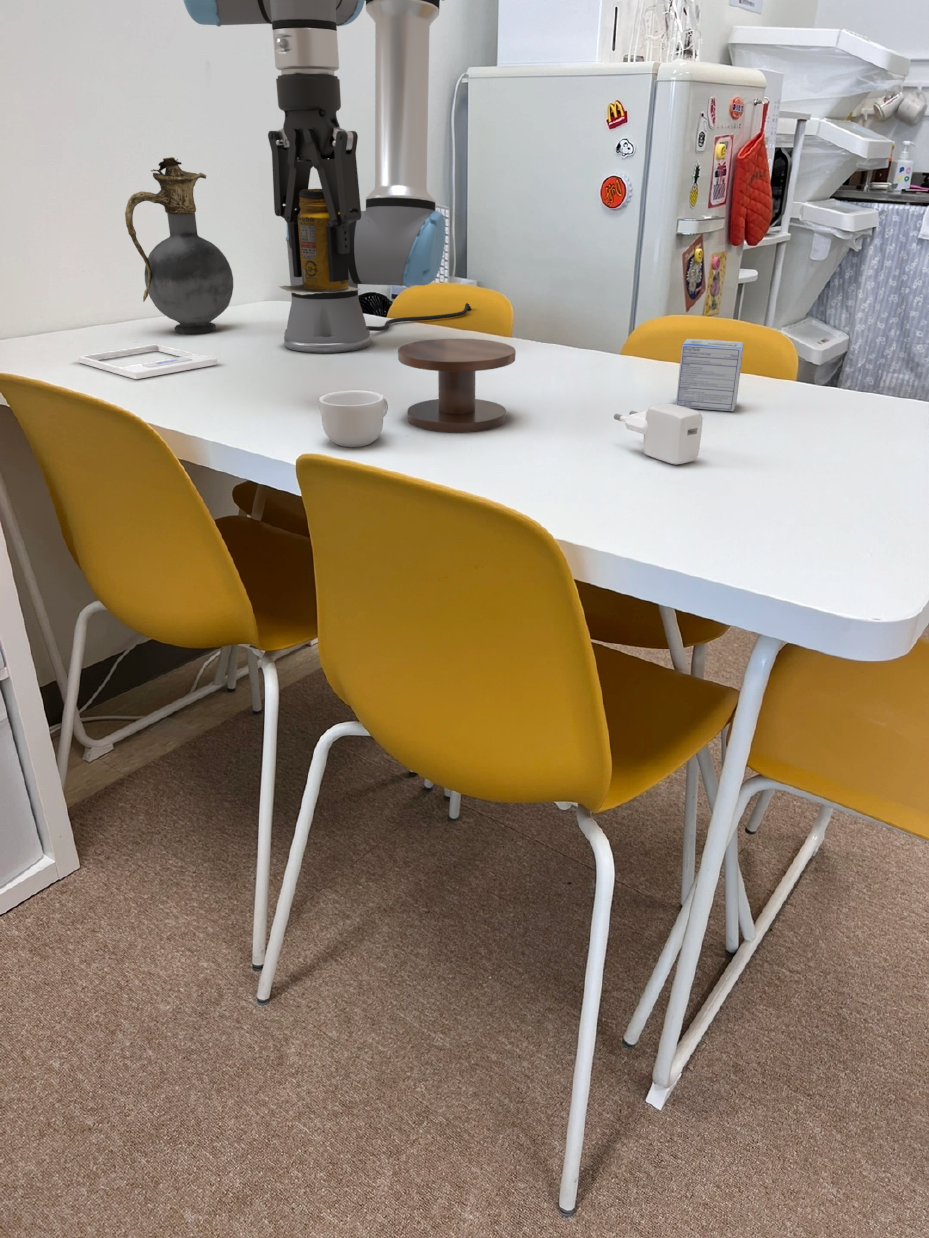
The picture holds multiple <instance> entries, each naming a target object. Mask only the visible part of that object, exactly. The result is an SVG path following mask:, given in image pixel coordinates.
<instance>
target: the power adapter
mask: <svg viewBox="0 0 929 1238" xmlns="http://www.w3.org/2000/svg"><path fill="white" fill-rule="evenodd" d="M613 419H614V420H616V421H619V422H623V423H624V426H625V428H626V429H627V430H630V431H632V432H636V433H638V434H642V435H643V442H642V443H643V444H642V445H643V446H642V447H643V448H642V450H643V453H644V454H645V455H646V456H648V457H651V458H653V459H656V460H659V461H662V462H665V463H667V464H671V465H682V464H686V463H690V462H694V461H696V460H697V458H698V456H699V453H700V447H701V439H702V431H703V419H704V418H703V415H702V413H701V412H700V411H698V410H696V409H694V408H686V407H683V406H679V405H676V403H663V404H657V405H654V406H650V407H648V408H647V410H646V411H640V412H638V411H636V410H630V411H629V413H628V416H625V415H623V414H619V413H615V414H614V415H613Z"/></svg>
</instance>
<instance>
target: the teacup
mask: <svg viewBox="0 0 929 1238" xmlns="http://www.w3.org/2000/svg"><path fill="white" fill-rule="evenodd" d="M318 406H319V411H320V417H321V418H320V419H321V425H322V428H323V431H324V433H325V435H326V436H327V438H328V439H329V440H330V441H331V442H333V443H334V444H336V445H337V446H341V447H345V448H361V447H366V446H369V445H371V444H372V443H374V441H376V440H377V439H378V438H379V436H380V435H381V433H382V431H383V427H384V418H385V417H386V415H387V413H388V410H389V404H388V401H387V399H386V398H385V396H384V394H382V393H380V392H377V391H373V390H372V391H371V390H362V389H361V390H360V389H353V390H352V389H349V390H348V389H347V390H339V391H332V392H329V393H326V394H323V395H321V396H319V398H318Z"/></svg>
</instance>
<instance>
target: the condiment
mask: <svg viewBox="0 0 929 1238" xmlns="http://www.w3.org/2000/svg"><path fill="white" fill-rule="evenodd" d="M299 198H300V203H299V206H300V208H301V210H300V212H299V214H298V230H299V243H300V257H301V269H302V282H303V284H301V285H295V286H291V285H278V286H277V287H278V288H280V289H281V290H285V291H286V292H290V294H291V293H296V294H300V295H306V294H314V293H335V292H344V291H356V290H358V291H359V290H361V288H359V287H358V288H353V287H349V286H348V285H347V284H348V282H349V281H348V280H344V281H338V282H330V281H329V265H328V249H327V233H326V227H327V226H328V225H327V223H328V222H330V217H329V214H328V210H327V206H326V202H325V198H324V194H323V191H322V188H308V189H304V190H301V191H300V192H299ZM338 214H340V212H338Z"/></svg>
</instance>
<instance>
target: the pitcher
mask: <svg viewBox="0 0 929 1238" xmlns="http://www.w3.org/2000/svg"><path fill="white" fill-rule="evenodd" d="M179 165H183V163H182V162H181V161H179V159H178V158H175V157H172V156H170V157H163V158H162V161H160V162H159V163H158V166H159V168H158V169H150V172H152V177H153V179H154V180H155V181H156V182H158V184H159V187H160V190H159V191H158V192H157V193H153V192H150V191H139V192H135V193H133V194H132V195H131V196H130V197H129V199H128V201H127V203H126V207H125V212H124V219H125V225H126V226H125V227H126V228H127V232H128V235H129V236H130V238H131V240H132V242H133V245H134V246H135V248H136V250H137V251H138V253H139V255H140V257H141V258H142V259H143V262H144V265H145V267H144V284H145V290H144V292H143V296H142V297H143V298H142V299H143V303H145V302H146V299H147V298H148V296H149V298H150V300H151V302H152V303H153V305H154V306H155V308H156V309H158V311H159V312H160V313H161V314H163V315H164V316H166V317H167V318H168V319H171V320H173V321H175V322H177V323H178V324H176V325H175V326H174V328H173V329H174V332H175V333H177V334H182V335H199V334H208V333H211V332H214V331H216V330H217V325H216V324H215V323H213V321H214V320H215V319H216V318H218V317H219V316H220V315H222V314H223V313H224V312H225V311H226V309H228V307H229V306H230V303H231V299H232V297H233V293H234V292H233V291H234V275H233V271H232V267H231V265H230V262H229V261H228V258H227V257H226V255H225V253H223V252H222V251H221V249H220V248H219V247H217V246H216V244H214V243H212V242H211V241H209V240H207V239H205V238H203V237H201V236H199V234H198V227H197V219H196V212H197V207H196V204H195V199H194V188H195V186H196V183H197V181H198V180H199V179H207V174H205V173H203V172H199V173H197V172H191V171H190V172H189V171H186V170H183V169H182V168H181V167H180V166H179ZM163 170H165V171H164V173H163V172H162V171H163ZM143 202H151V203H152V204H159V205H161V206H163V207H164V213H165V214H167V222H168V230H169V236H168V237H166V238H165V239H163V240H161V241H160V242H159V243H158V244H156V245H155V246H154V248H152V250H151V251H150V253H149V254H148V256H147V255H146V252H145V251H144V249H143V247H142V246H141V244H140V242H139V240H138V238H137V232H136V228H135V226H134V221H133V220H134V219H133V218H134V211H135V208H136V206H137V205H139V204H141V203H143Z"/></svg>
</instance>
